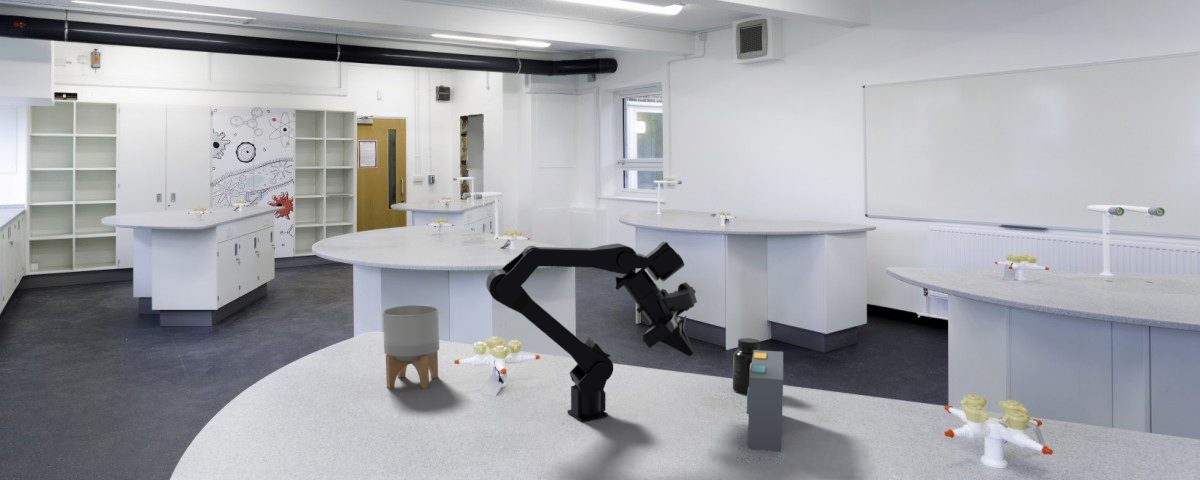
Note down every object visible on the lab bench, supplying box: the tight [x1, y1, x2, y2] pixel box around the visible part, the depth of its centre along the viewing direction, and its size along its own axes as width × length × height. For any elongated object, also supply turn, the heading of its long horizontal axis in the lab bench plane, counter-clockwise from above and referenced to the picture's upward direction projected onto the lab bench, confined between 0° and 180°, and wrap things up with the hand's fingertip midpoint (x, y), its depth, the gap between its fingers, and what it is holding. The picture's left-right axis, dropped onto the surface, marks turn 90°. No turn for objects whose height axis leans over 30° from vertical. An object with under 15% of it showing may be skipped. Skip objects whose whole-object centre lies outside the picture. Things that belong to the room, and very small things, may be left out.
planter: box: [382, 304, 440, 389], centre depth 171 cm, size 13×13×18 cm
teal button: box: [746, 387, 749, 415], centre depth 135 cm, size 4×4×4 cm
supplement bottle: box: [732, 337, 760, 395], centre depth 164 cm, size 7×7×12 cm
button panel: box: [747, 349, 784, 452], centre depth 139 cm, size 6×20×14 cm, turn 166°
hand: (691, 354), depth 148 cm, fingers closed
